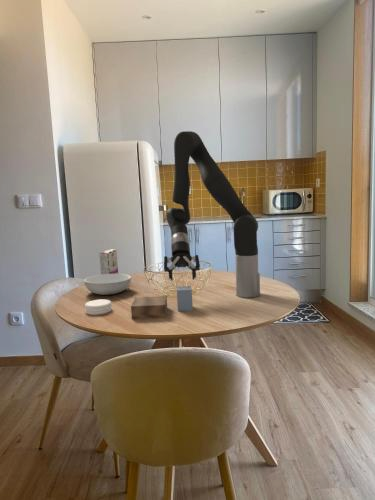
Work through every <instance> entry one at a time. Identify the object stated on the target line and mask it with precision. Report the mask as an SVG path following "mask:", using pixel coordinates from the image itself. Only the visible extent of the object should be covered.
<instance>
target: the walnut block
mask: <svg viewBox="0 0 375 500" xmlns="http://www.w3.org/2000/svg"><path fill="white" fill-rule="evenodd" d="M167 298H168V297H167V295H160V296H138V297H137V296H136V297H134V299H133V301H132V304H131V305H130V311H131V312H130V313H131V320H142V319H144V320H145V319H162V318H163V319H166V317H167V311H168V299H167Z"/></svg>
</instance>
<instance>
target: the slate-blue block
mask: <svg viewBox="0 0 375 500" xmlns="http://www.w3.org/2000/svg"><path fill="white" fill-rule="evenodd" d="M176 305H177V311H178V312H189V311H191V312H192V311H193V310H194V309H193V289H192V285H187V286H186V285H185V286H176Z"/></svg>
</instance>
